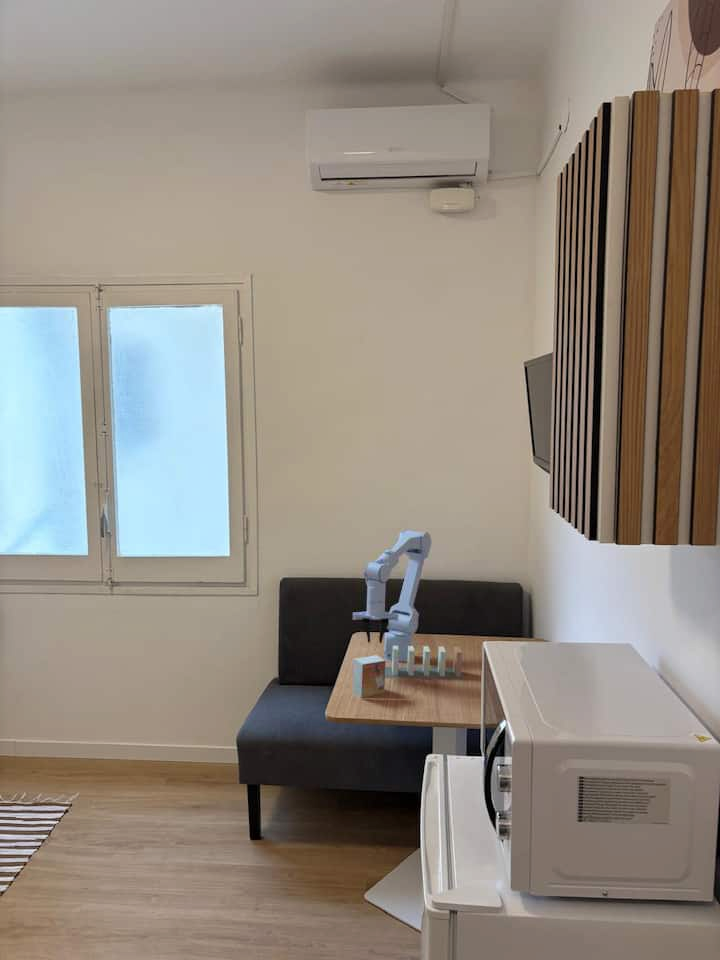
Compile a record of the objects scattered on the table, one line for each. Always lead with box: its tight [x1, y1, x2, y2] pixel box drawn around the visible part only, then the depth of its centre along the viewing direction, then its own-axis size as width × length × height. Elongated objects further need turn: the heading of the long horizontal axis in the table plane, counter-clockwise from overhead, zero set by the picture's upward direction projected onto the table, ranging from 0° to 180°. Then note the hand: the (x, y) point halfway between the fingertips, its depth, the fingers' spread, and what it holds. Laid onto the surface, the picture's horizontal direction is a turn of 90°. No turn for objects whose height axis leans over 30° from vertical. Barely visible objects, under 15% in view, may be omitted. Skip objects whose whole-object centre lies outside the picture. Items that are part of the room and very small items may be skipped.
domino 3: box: [422, 645, 431, 676], centre depth 220 cm, size 2×5×8 cm, turn 1°
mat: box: [385, 666, 466, 680], centre depth 220 cm, size 27×9×1 cm, turn 91°
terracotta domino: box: [453, 646, 463, 677], centre depth 220 cm, size 2×5×8 cm, turn 2°
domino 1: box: [391, 646, 400, 675], centre depth 220 cm, size 2×5×8 cm, turn 1°
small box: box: [352, 654, 386, 699], centre depth 203 cm, size 8×6×10 cm
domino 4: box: [437, 646, 447, 676], centre depth 220 cm, size 2×5×8 cm, turn 1°
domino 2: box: [406, 645, 415, 676], centre depth 220 cm, size 2×5×8 cm, turn 1°
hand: (374, 641), depth 219 cm, fingers open, 3 cm apart
